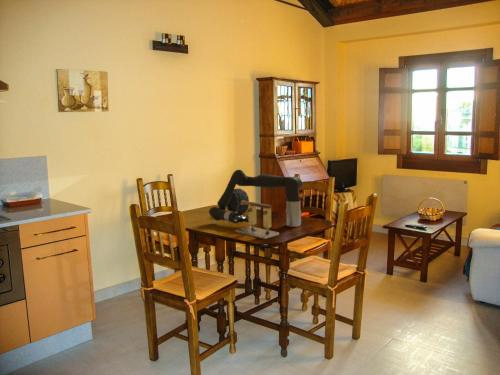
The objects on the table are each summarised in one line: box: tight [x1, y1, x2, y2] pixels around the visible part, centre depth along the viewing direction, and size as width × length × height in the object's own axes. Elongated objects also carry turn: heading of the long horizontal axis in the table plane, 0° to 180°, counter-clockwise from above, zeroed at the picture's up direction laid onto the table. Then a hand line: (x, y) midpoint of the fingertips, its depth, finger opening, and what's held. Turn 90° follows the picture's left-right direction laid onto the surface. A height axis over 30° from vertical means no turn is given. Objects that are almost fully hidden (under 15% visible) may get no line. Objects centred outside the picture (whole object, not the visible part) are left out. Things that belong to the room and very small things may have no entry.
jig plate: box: [235, 225, 280, 240], centre depth 299 cm, size 13×26×2 cm, turn 46°
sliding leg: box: [247, 205, 257, 230], centre depth 300 cm, size 5×4×16 cm
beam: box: [241, 200, 272, 209], centre depth 297 cm, size 3×24×2 cm, turn 46°
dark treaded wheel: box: [226, 188, 250, 215], centre depth 355 cm, size 11×20×20 cm, turn 35°
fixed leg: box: [262, 208, 272, 233], centre depth 291 cm, size 5×4×16 cm
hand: (250, 220), depth 302 cm, fingers closed
